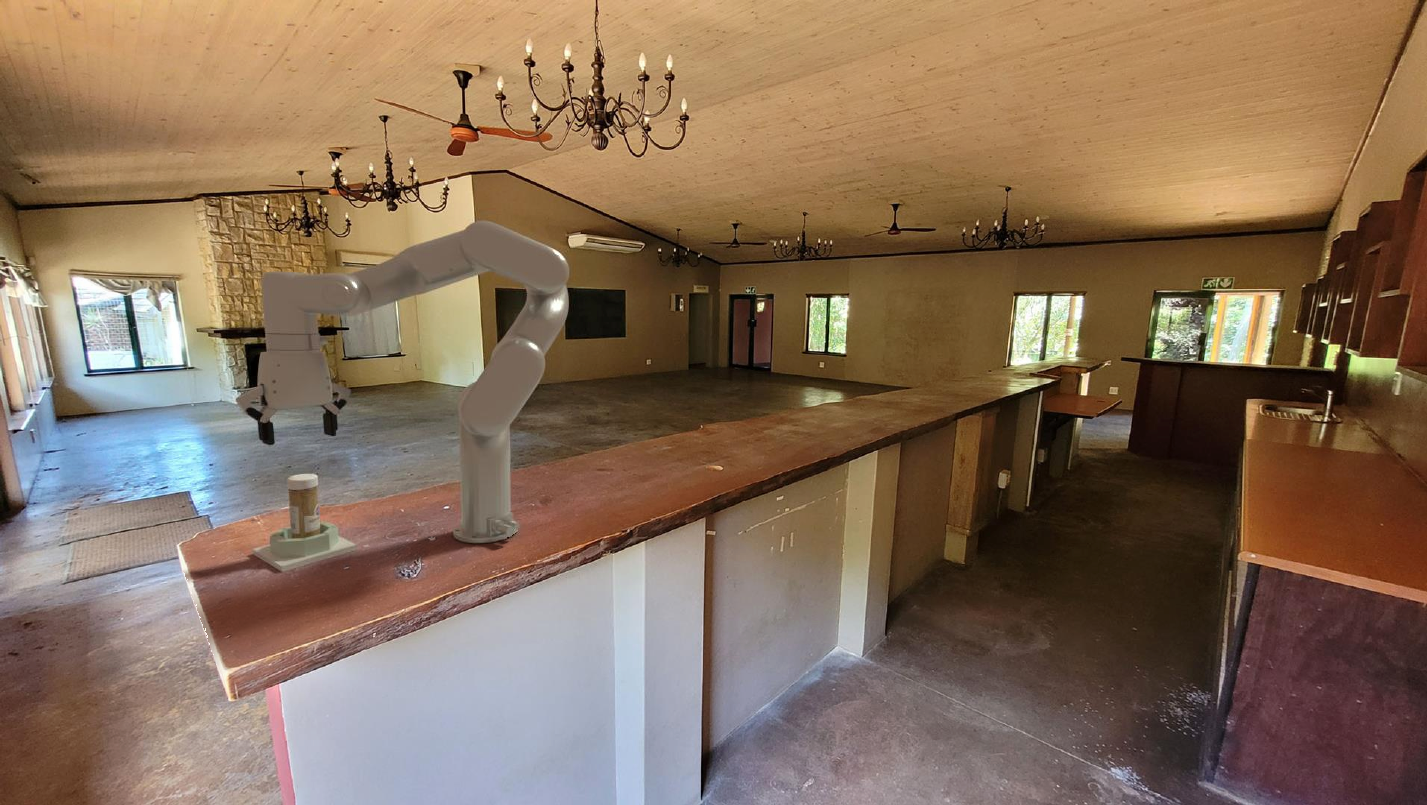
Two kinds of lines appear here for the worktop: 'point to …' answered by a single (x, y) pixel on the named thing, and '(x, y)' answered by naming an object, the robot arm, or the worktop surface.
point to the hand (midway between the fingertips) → (300, 439)
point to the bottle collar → (303, 547)
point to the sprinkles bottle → (303, 505)
